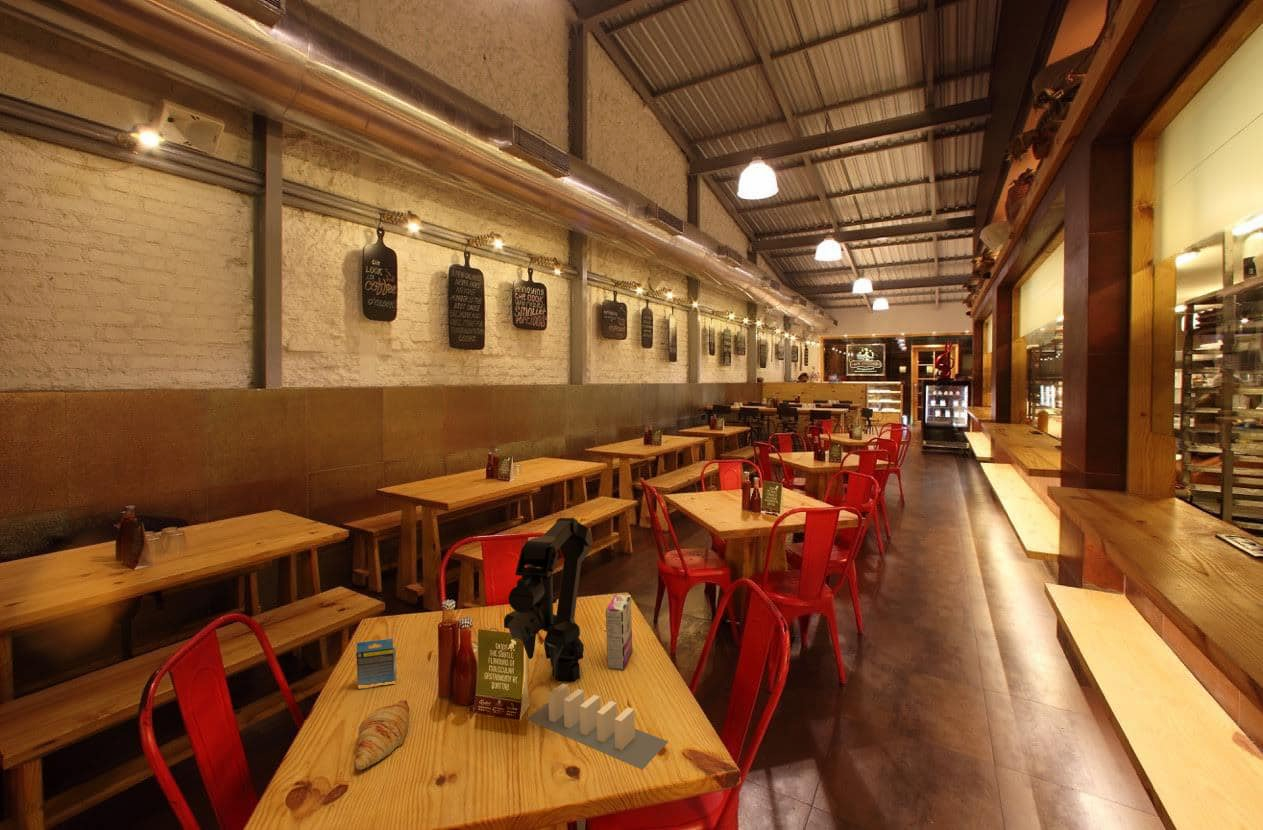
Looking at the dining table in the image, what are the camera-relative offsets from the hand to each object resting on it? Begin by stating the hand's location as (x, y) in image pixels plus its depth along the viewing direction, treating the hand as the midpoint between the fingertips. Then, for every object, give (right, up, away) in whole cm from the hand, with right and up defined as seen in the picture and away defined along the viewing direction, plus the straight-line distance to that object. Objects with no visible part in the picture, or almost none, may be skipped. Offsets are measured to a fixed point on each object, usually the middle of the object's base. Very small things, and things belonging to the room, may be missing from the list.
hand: (541, 662), depth 126 cm
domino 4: (+16, -11, -10) cm, 21 cm away
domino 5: (+19, -11, -12) cm, 25 cm away
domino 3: (+12, -11, -7) cm, 18 cm away
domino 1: (+4, -11, -2) cm, 12 cm away
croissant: (-33, -13, -9) cm, 36 cm away
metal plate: (+13, -12, -8) cm, 19 cm away
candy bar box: (+17, -11, +25) cm, 32 cm away
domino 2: (+8, -11, -5) cm, 14 cm away
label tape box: (-45, -12, +15) cm, 49 cm away
